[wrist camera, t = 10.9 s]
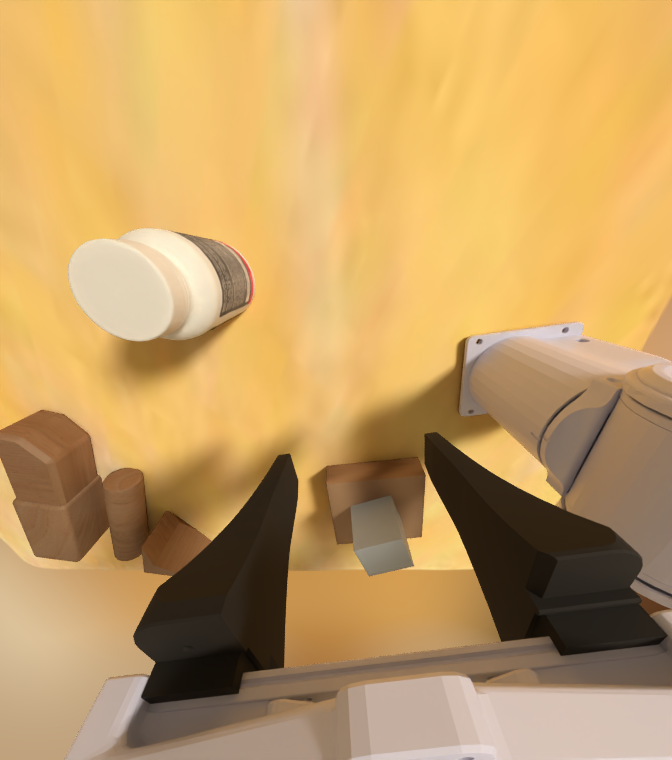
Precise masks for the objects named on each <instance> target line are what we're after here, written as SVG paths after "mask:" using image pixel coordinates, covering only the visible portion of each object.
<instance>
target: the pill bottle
mask: <svg viewBox="0 0 672 760" xmlns="http://www.w3.org/2000/svg"><path fill="white" fill-rule="evenodd" d="M68 279H69V283H70V287H71V290H72V293H73V295H74V297H75V299H76V301H77V303H78V305H79V306H80V307H81V309H82V310H83V311H84V313H85V314H86V315H87V316H88V317H89V318H90V319H91V320H92V321H93V322H94V323H95V324H97V325H98V326H99V327H101V328H102V329H103V330H105V331H107V332H108V333H110V334H112V335H114V336H117V337H119V338H122V339H125V340H130V341H149V340H153V339H156V338H159V337H161V338H164V339H170V340H187V339H192V338H195V337H198V336H201V335H203V334H205V333H206V332H208V331H210V330H212V329H214V328H215V327H217V326H219V325H221V324H223V323H225V322H226V321H228V320H230V319H232V318H234V317H236V316H237V315H239V314H241V313H242V312H244V311H245V310H246V309H247V308H248V306H249V305H250V304H251V302H252V300H253V297H254V294H255V279H254V275H253V271H252V269H251V267H250V265H249V263H248V262H247V260H246V259H245V257H244V256H243V255H242V254H241V253H240V252H239V251H238V250H236V249H235V248H233V247H232V246H230V245H228V244H226V243H223V242H220V241H216V240H212V239H206V238H201V237H197V236H192V235H187V234H182V233H178V232H173V231H169V230H164V229H156V228H142V229H136V230H133V231H130V232H128V233H126V234H124V235H123V236H121V237H120V238H119V239H118V240H117V239H96V240H91V241H88V242H86V243H84V244H82V245H81V246H80V247H78V248H77V249H76V250H75V252H74V253H73V255H72V257H71V259H70V261H69V265H68Z"/></svg>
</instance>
